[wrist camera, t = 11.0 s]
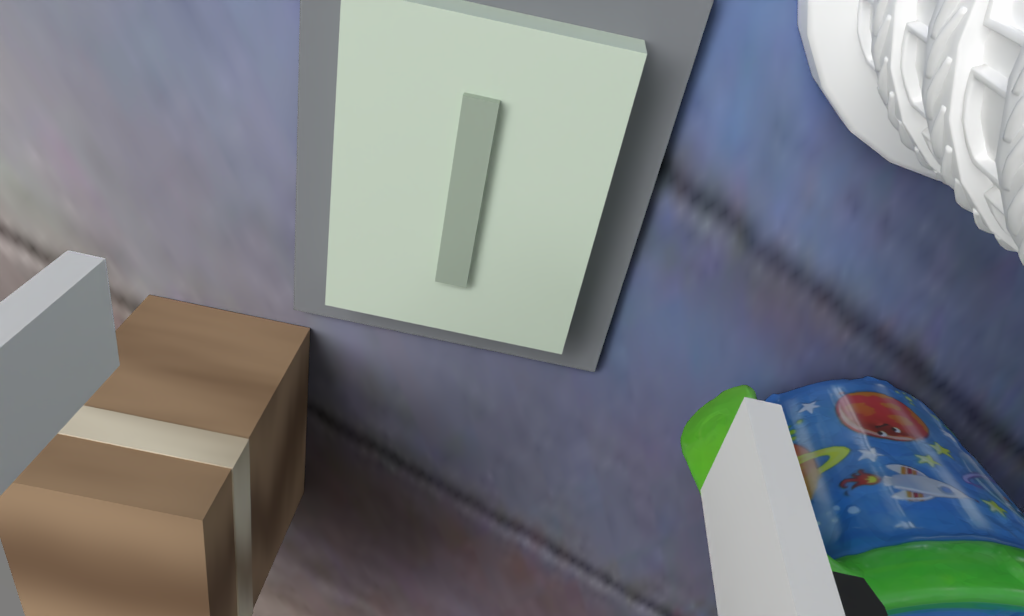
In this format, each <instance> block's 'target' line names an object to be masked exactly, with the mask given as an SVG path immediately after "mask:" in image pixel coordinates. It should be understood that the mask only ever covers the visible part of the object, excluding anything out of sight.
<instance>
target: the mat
mask: <svg viewBox="0 0 1024 616" xmlns="http://www.w3.org/2000/svg"><path fill="white" fill-rule="evenodd" d="M464 1H468V2H473V3H478V4H482V5H487V6H491V7H496V8H500V9H505V10H509V11H514V12H519V13H523V14H528V15H532V16H537V17H541V18H546V19H550V20H555V21H560V22H564V23H569V24H573V25H578V26H582V27H587V28H591V29H596V30H601V31H605V32H610V33H614V34H619V35H623V36H628V37H632V38H637V39H642V40H645V45H646V50H647V57H646V60H645V64H644V67H643V71H642V74H641V78H640V81H639V85H638V88H637V92H636V95H635V99H634V102H633V106H632V109H631V113H630V116H629V120H628V123H627V127H626V130H625V134H624V137H623V141H622V144H621V148H620V151H619V155H618V158H617V162H616V165H615V169H614V173H613V176H612V180H611V183H610V187H609V190H608V194H607V197H606V201H605V204H604V208H603V211H602V215H601V218H600V222H599V225H598V229H597V232H596V236H595V239H594V243H593V246H592V250H591V253H590V257H589V260H588V264H587V267H586V271H585V274H584V278H583V281H582V285H581V288H580V292H579V295H578V299H577V302H576V306H575V309H574V313H573V316H572V320H571V323H570V327H569V330H568V334H567V338H566V341H565V345H564V348H563V352H562V354H557V353H553V352H548V351H543V350H538V349H533V348H529V347H524V346H519V345H514V344H510V343H505V342H500V341H495V340H490V339H486V338H481V337H476V336H471V335H467V334H462V333H457V332H452V331H447V330H443V329H438V328H433V327H428V326H424V325H419V324H414V323H409V322H404V321H400V320H395V319H390V318H385V317H380V316H376V315H371V314H366V313H361V312H357V311H352V310H347V309H342V308H337V307H333V306H328V305H325V296H326V276H327V257H328V238H329V219H330V200H331V180H332V161H333V142H334V123H335V103H336V84H337V65H338V46H339V26H340V7H341V0H300V34H299V81H298V127H297V174H296V220H295V266H294V310H298V311H303V312H308V313H313V314H317V315H322V316H327V317H332V318H337V319H342V320H346V321H351V322H356V323H361V324H366V325H370V326H375V327H380V328H385V329H390V330H394V331H399V332H404V333H409V334H414V335H418V336H423V337H428V338H433V339H438V340H443V341H447V342H452V343H457V344H462V345H467V346H471V347H476V348H481V349H486V350H491V351H495V352H500V353H505V354H510V355H515V356H519V357H524V358H529V359H534V360H539V361H544V362H548V363H553V364H558V365H563V366H568V367H572V368H577V369H582V370H587V371H592V372H595V369H596V366H597V363H598V359H599V356H600V353H601V350H602V347H603V344H604V341H605V338H606V335H607V331H608V328H609V325H610V322H611V319H612V316H613V313H614V310H615V306H616V303H617V300H618V297H619V294H620V291H621V288H622V285H623V281H624V278H625V275H626V272H627V269H628V266H629V263H630V260H631V257H632V253H633V250H634V247H635V244H636V241H637V238H638V235H639V232H640V228H641V225H642V222H643V219H644V216H645V213H646V210H647V207H648V204H649V200H650V197H651V194H652V191H653V188H654V185H655V182H656V179H657V175H658V172H659V169H660V166H661V163H662V160H663V157H664V154H665V151H666V147H667V144H668V141H669V138H670V135H671V132H672V129H673V126H674V122H675V119H676V116H677V113H678V110H679V107H680V104H681V101H682V98H683V94H684V91H685V88H686V85H687V82H688V79H689V76H690V73H691V69H692V66H693V63H694V60H695V57H696V54H697V51H698V48H699V45H700V41H701V38H702V35H703V32H704V29H705V26H706V23H707V20H708V16H709V13H710V10H711V7H712V4H713V1H714V0H464Z"/></svg>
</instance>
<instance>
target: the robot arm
mask: <svg viewBox="0 0 1024 616" xmlns="http://www.w3.org/2000/svg"><path fill="white" fill-rule="evenodd" d="M119 366H120V362H119V355H118V348H117V340H116V333H115V325H114V318H113V310H112V303H111V295H110V288H109V281H108V273H107V266H106V258H101V257H97V256H92V255H87V254H83V253H78V252H74V251H69V250H68V251H66V252H65V253H64V254H62V255H61V256H60V257H59V258H57V259H56V260H55V261H53V262H52V263H51V264H49V265H48V266H47V267H46V268H44V269H43V270H42V271H40V272H39V273H38V274H37V275H35V276H34V277H33V278H31V279H30V280H29V281H28V282H26V283H25V284H24V285H22V286H21V287H20V288H18V289H17V290H16V291H15V292H13V293H12V294H11V295H9V296H8V297H7V298H6V299H4V300H3V301H2V302H0V496H1V495H2V494H3V492H4V491H5V490H6V489H7V488H8V487H9V486H10V485H11V484H12V483H13V481H14V480H15V479H16V478H17V477H18V476H19V475H20V474H21V473H22V472H23V471H24V469H25V468H26V467H27V466H28V465H29V464H30V463H31V462H32V461H33V460H34V459H35V457H36V456H37V455H38V454H39V453H40V452H41V451H42V450H43V449H44V448H45V447H46V445H47V444H48V443H49V442H50V441H51V440H52V439H53V438H54V437H55V436H56V435H57V433H58V432H59V431H60V430H61V429H62V428H63V427H64V426H65V425H66V424H67V423H68V421H69V420H70V419H71V418H72V417H73V416H74V415H75V414H76V413H77V412H78V411H79V409H80V408H81V407H82V406H83V405H84V404H85V403H86V402H87V401H88V400H89V398H90V397H91V396H92V395H93V394H94V393H95V392H96V391H97V390H98V389H99V388H100V386H101V385H102V384H103V383H104V382H105V381H106V380H107V379H108V378H109V377H110V376H111V374H112V373H113V372H114V371H115V370H116V369H117V368H118V367H119ZM700 491H701V498H702V505H703V512H704V519H705V526H706V533H707V540H708V547H709V554H710V561H711V568H712V575H713V582H714V589H715V596H716V604H717V611H718V616H888V614H887V612H886V609H885V606H884V605H883V604H882V602H881V601H880V600H879V598H878V597H877V596H876V594H875V593H874V591H873V590H872V589H871V587H870V586H869V585H868V583H867V582H866V581H865V579H864V578H862V577H857V576H852V575H848V574H843V573H838V572H834V571H832V570H831V567H830V563H829V560H828V557H827V553H826V550H825V547H824V544H823V540H822V537H821V534H820V530H819V527H818V524H817V521H816V517H815V514H814V511H813V507H812V504H811V501H810V498H809V494H808V491H807V488H806V484H805V481H804V478H803V475H802V471H801V468H800V465H799V461H798V458H797V455H796V452H795V448H794V445H793V442H792V438H791V435H790V432H789V429H788V425H787V422H786V419H785V415H784V412H783V409H782V406H781V405H779V404H775V403H770V402H765V401H761V400H756V399H752V398H747V397H744V399H743V401H742V403H741V405H740V407H739V409H738V412H737V414H736V416H735V418H734V420H733V422H732V424H731V426H730V429H729V431H728V433H727V435H726V437H725V439H724V441H723V443H722V446H721V448H720V450H719V452H718V454H717V456H716V458H715V460H714V463H713V465H712V467H711V469H710V471H709V473H708V475H707V477H706V480H705V482H704V484H703V486H702V488H701V490H700Z"/></svg>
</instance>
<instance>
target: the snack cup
mask: <svg viewBox="0 0 1024 616" xmlns="http://www.w3.org/2000/svg"><path fill="white" fill-rule="evenodd" d="M744 397H747V398H752V399H756V400H757V397H756V393H755V391H754V390H753V389H752V388H751V387H749V386H747V385H741V386H737V387H733V388H730V389H728V390H726V391H723V392H722V393H721V394H719V395H718V396H717V397H716V398H715V399H713V400H711V401H709V402H708V403H706V404H705V405H704V406H703V407H702V408H700V409H699V410H698V411H697V412H696V413H695V414H694V415H693V416H692V417H691V418H690V420H689V421H688V422H687V424H686V425H685V427H684V430H683V433H682V436H681V447H682V453H683V455H684V457H685V459H686V461H687V464H688V466H689V469H690V471H691V474H692V476H693V478H694V480H695V482H696V485H697V487H698V490H699V492H700V495H701V491H700V490H701V488H702V486H703V484H704V482H705V480H706V477H707V475H708V473H709V471H710V469H711V467H712V465H713V463H714V460H715V458H716V456H717V454H718V452H719V450H720V448H721V446H722V443H723V441H724V439H725V437H726V435H727V433H728V431H729V429H730V426H731V424H732V422H733V420H734V418H735V416H736V414H737V412H738V409H739V407H740V405H741V403H742V401H743V399H744ZM765 402H770V403H775V404H779V405H781V406H782V409H783V412H784V415H785V419H786V422H787V425H788V429H789V432H790V435H791V438H792V442H793V445H794V448H795V452H796V455H797V458H798V461H799V465H800V468H801V471H802V475H803V478H804V481H805V484H806V488H807V491H808V494H809V498H810V501H811V504H812V507H813V511H814V514H815V517H816V521H817V524H818V527H819V530H820V534H821V537H822V540H823V544H824V547H825V550H826V553H827V557H828V560H829V563H830V567H831V570H832V571H834V572H838V573H843V574H848V575H852V576H857V577H862V578H864V579H865V581H866V582H867V583H868V585H869V586H870V587H871V589H872V590H873V591H874V593H875V594H876V596H877V597H878V598H879V600H880V601H881V602H882V604H883V605H884V606H885V609H886V612H887V614H888V616H1024V514H1023V513H1022V512H1021V511H1020V510H1019V509H1018V508H1017V506H1016V505H1015V504H1014V503H1013V502H1012V501H1011V499H1010V498H1009V497H1008V496H1007V495H1006V494H1005V492H1004V491H1003V490H1002V489H1001V488H1000V486H999V485H998V484H997V483H996V482H995V481H994V480H993V478H992V477H991V476H990V475H989V474H988V473H987V472H986V470H985V469H984V468H983V467H982V466H981V465H980V464H979V463H978V462H977V460H976V459H975V458H974V457H973V456H972V455H971V454H970V453H969V452H968V451H967V450H966V449H965V448H964V447H963V446H962V445H961V444H960V442H959V441H958V439H957V437H956V436H955V435H954V434H953V432H952V431H951V430H949V429H948V428H947V427H946V426H945V425H944V423H943V422H942V421H941V420H940V419H939V418H938V417H937V416H936V415H935V414H934V413H933V412H932V411H931V410H930V409H929V408H928V407H927V406H926V405H925V404H924V403H922V402H921V401H920V400H918V399H916V398H915V397H913V396H911V395H909V394H908V393H906V392H904V391H901V390H899V389H897V388H895V387H894V386H892V385H891V384H890V383H889V382H887V381H883V380H878V379H876V378H873V377H870V376H865V377H863V378H860V379H853V380H848V379H840V380H829V381H823V382H819V383H815V384H811V385H807V386H804V387H801V388H797V389H794V390H791V391H788V392H785V393H782V394H772V395H771V396H769V397H768V398H767V399H766V400H765Z"/></svg>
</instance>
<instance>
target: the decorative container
mask: <svg viewBox="0 0 1024 616" xmlns="http://www.w3.org/2000/svg"><path fill="white" fill-rule="evenodd" d="M797 25H798V28H799V32H800V35H801V39H802V43H803V46H804V50H805V53H806V57H807V60H808V64H809V67H810V71H811V74H812V77H813V78H814V80H815V81H816V83H817V84H818V86H819V87H820V89H821V90H822V92H823V93H824V95H825V97H826V98H827V100H828V101H829V103H830V104H831V106H832V107H833V109H834V110H835V112H836V113H837V115H838V116H839V118H840V119H841V120H842V121H843V123H844V124H845V125H846V127H847V128H848V129H849V130H850V132H852V133H853V134H854V135H855V136H857V137H858V138H859V139H861V140H862V141H863V142H864V143H866V144H867V145H868V146H870V147H871V148H872V149H873V150H875V151H876V152H877V153H878V154H880V155H881V156H882V157H884V158H885V159H886V160H887V161H889V162H890V163H893V164H896V165H898V166H901V167H903V168H906V169H909V170H911V171H914V172H917V173H919V174H922V175H924V176H927V177H930V178H932V179H935V180H938V181H942V182H943V183H944V184H946V185H949V186H950V187H951V188H952V189H954V193H955V199H956V202H957V203H958V204H959V205H960V206H961V207H962V208H964V209H966V210H968V211H970V212H972V213H973V215H974V220H975V223H976V225H977V227H978V228H979V229H981V230H983V231H985V232H988V233H990V234H994V235H995V238H996V239H997V241H998V243H999V245H1001V246H1002V247H1003V248H1004V249H1006V250H1008V251H1016V252H1018V255H1019V258H1020V260H1021V262H1022V264H1023V265H1024V0H798V20H797Z"/></svg>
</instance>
